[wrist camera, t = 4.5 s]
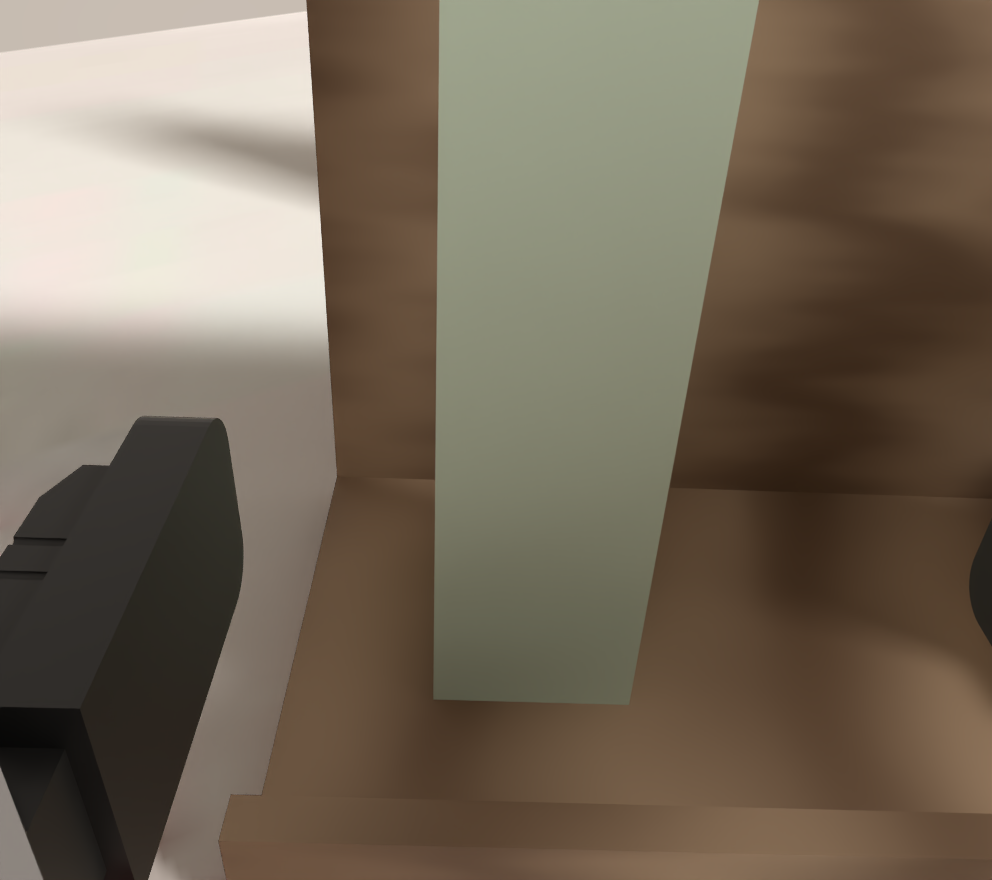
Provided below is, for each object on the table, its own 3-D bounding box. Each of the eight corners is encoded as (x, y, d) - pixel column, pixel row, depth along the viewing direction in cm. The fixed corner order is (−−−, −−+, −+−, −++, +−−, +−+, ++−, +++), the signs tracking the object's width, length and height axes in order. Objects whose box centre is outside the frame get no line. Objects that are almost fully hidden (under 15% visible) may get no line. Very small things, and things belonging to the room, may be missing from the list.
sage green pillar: (604, 545, 23) (731, -339, 14) (628, 704, 19) (833, -406, 10) (444, 540, 23) (458, -356, 14) (433, 699, 19) (443, -430, 9)
